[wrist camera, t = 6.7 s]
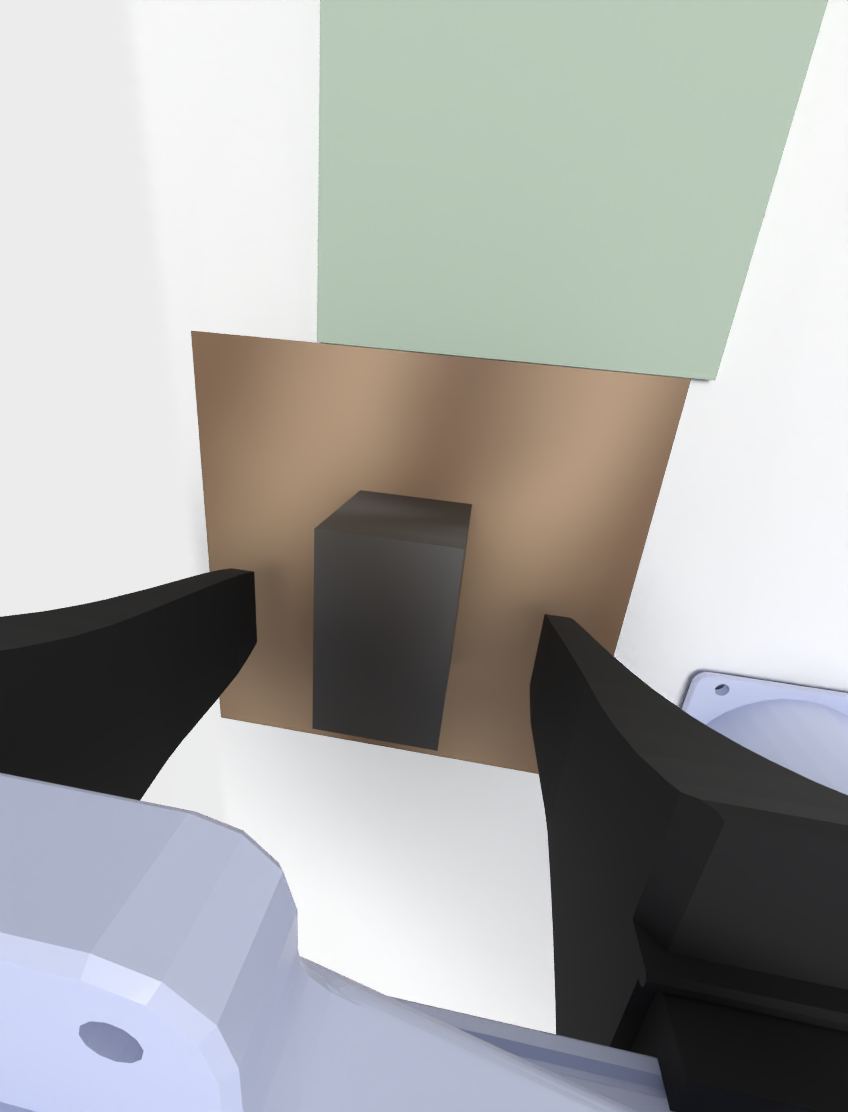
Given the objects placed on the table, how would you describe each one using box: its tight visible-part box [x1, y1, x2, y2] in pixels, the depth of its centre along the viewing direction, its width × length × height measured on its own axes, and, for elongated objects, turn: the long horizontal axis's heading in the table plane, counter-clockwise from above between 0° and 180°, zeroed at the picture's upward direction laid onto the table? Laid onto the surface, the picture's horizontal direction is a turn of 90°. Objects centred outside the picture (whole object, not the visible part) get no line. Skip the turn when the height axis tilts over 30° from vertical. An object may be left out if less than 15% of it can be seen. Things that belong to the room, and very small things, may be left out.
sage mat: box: [317, 0, 828, 380], centre depth 13 cm, size 13×13×1 cm
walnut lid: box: [191, 331, 691, 774], centre depth 12 cm, size 12×12×4 cm
